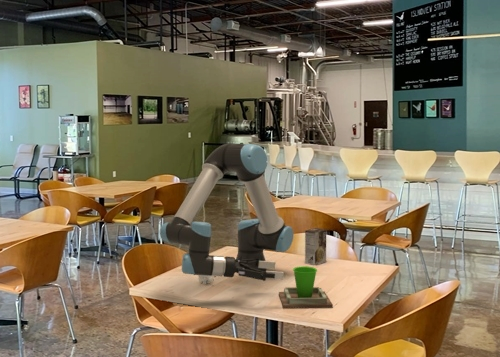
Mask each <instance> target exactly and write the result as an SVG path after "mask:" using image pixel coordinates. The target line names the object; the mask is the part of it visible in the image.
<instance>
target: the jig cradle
mask: <svg viewBox="0 0 500 357" xmlns="http://www.w3.org/2000/svg"><path fill="white" fill-rule="evenodd" d="M278 296H279V300H280V302H281V305H282V308H283V309H331V308H333V307H334V305H333V303H332V301H331V299H330V298H329V297H328V295H327V293H326V291H324V290H323V289H322V287H319V286H314V287H313V292H312V297H311V298H298V295H297V288H296V286H293V287H290V286H289V287H283V291H278Z"/></svg>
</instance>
